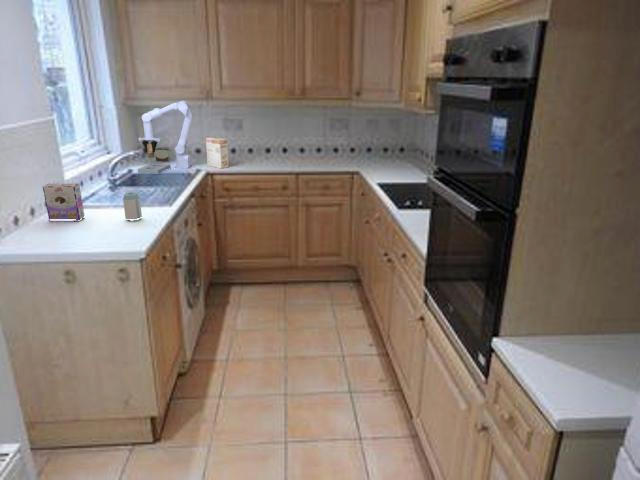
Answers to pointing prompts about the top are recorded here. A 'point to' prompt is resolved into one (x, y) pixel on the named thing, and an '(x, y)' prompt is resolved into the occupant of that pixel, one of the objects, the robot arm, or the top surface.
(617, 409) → the top surface
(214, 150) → the coffeecake box
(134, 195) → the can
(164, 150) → the food container
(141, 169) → the board
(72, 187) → the candy box
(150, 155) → the peg
